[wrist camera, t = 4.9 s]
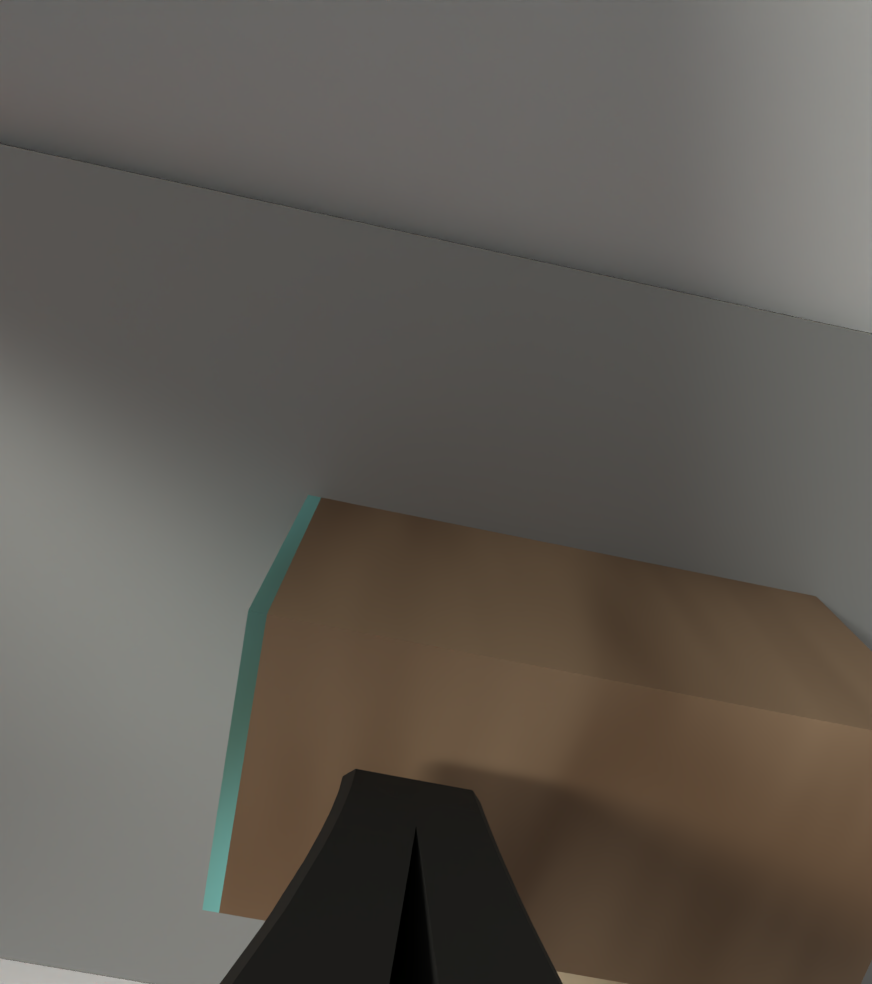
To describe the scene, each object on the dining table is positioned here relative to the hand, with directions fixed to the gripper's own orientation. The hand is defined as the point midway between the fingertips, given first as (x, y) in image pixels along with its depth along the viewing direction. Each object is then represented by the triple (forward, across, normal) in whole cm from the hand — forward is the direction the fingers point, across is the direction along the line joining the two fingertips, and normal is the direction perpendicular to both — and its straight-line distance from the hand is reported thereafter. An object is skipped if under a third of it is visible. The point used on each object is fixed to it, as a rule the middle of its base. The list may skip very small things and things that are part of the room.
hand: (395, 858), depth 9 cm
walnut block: (+3, +2, 0) cm, 4 cm away
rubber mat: (+5, -1, +1) cm, 6 cm away
